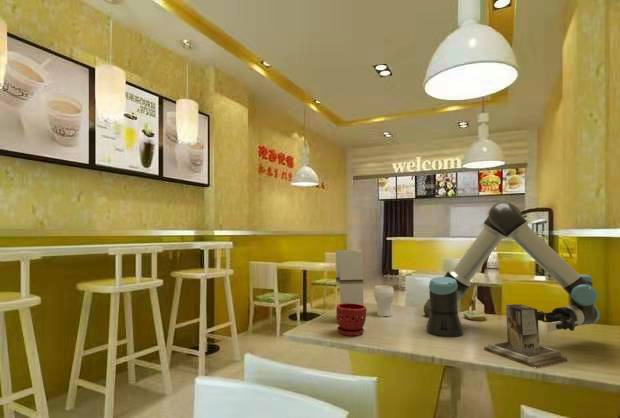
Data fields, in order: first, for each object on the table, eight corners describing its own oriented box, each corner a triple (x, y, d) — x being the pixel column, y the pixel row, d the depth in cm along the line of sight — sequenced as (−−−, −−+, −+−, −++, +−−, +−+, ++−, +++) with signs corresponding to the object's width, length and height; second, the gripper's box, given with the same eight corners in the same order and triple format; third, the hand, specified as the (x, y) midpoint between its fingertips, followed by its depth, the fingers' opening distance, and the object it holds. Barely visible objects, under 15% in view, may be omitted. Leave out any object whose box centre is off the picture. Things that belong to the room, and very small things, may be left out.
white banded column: (357, 317, 184) (356, 250, 186) (363, 323, 173) (362, 251, 175) (336, 318, 182) (335, 250, 184) (340, 324, 172) (340, 251, 174)
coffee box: (541, 356, 123) (538, 309, 124) (523, 356, 123) (521, 309, 124) (522, 347, 132) (520, 303, 133) (506, 348, 132) (504, 304, 133)
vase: (438, 318, 182) (438, 301, 182) (424, 317, 183) (424, 300, 184) (436, 315, 188) (436, 298, 189) (423, 314, 190) (422, 298, 190)
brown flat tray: (484, 349, 133) (483, 342, 133) (513, 344, 140) (512, 337, 140) (536, 368, 115) (535, 360, 115) (567, 360, 121) (566, 353, 122)
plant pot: (345, 339, 148) (345, 309, 149) (331, 330, 160) (331, 304, 161) (372, 335, 153) (371, 307, 153) (357, 327, 165) (356, 301, 166)
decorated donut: (469, 322, 175) (469, 314, 175) (460, 316, 186) (459, 309, 186) (490, 321, 175) (490, 313, 176) (479, 316, 186) (479, 309, 186)
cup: (390, 318, 182) (389, 288, 183) (371, 315, 188) (370, 287, 189) (397, 314, 191) (396, 286, 192) (378, 312, 197) (378, 284, 198)
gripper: (604, 335, 126) (566, 342, 117) (535, 319, 148) (500, 325, 140) (603, 313, 126) (565, 319, 118) (535, 301, 149) (499, 305, 141)
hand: (529, 322), depth 129 cm, fingers open, 13 cm apart
